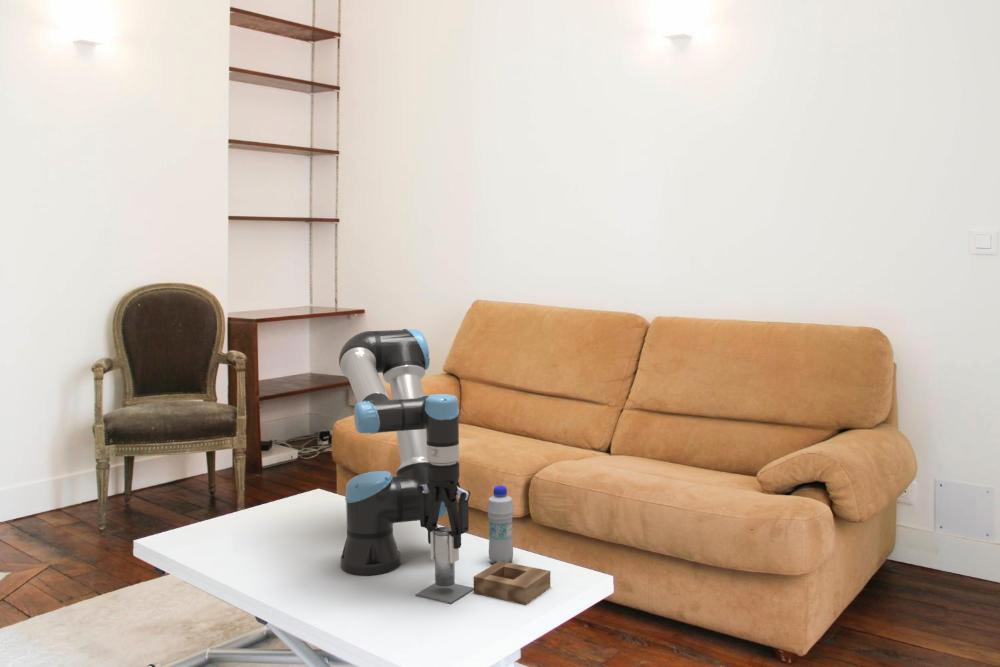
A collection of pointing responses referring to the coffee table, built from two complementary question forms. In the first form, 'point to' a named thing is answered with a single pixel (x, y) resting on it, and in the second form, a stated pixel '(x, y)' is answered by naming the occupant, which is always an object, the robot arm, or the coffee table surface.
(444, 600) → the mat
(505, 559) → the bottle
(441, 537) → the shiny metal cylinder
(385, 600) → the coffee table surface
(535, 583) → the housing
